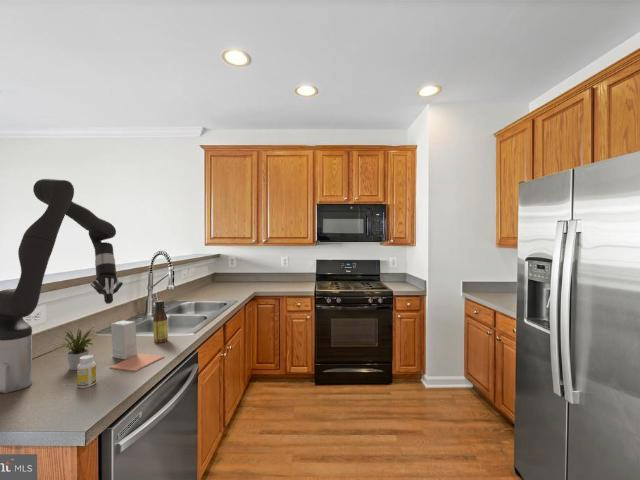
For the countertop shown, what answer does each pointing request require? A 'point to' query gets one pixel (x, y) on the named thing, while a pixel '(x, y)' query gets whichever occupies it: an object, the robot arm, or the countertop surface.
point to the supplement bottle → (86, 372)
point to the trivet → (137, 362)
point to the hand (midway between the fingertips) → (109, 303)
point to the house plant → (76, 348)
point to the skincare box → (124, 339)
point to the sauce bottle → (160, 323)
